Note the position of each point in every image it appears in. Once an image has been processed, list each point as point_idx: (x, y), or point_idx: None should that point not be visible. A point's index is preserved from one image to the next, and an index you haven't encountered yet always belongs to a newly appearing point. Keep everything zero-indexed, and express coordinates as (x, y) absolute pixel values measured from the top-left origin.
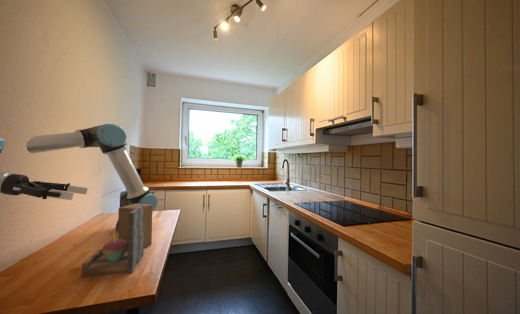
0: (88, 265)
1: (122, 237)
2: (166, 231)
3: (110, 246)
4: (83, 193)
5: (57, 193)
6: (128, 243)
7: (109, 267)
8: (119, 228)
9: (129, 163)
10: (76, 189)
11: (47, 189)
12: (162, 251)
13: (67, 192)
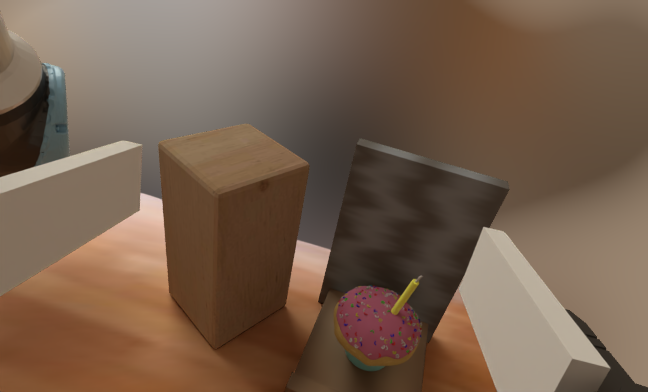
0: None
1: (239, 297)
2: (140, 203)
3: (414, 329)
4: (129, 211)
5: (585, 327)
6: (462, 277)
7: (422, 372)
8: (225, 277)
9: None
10: (74, 206)
11: None
12: (320, 252)
13: (519, 257)
